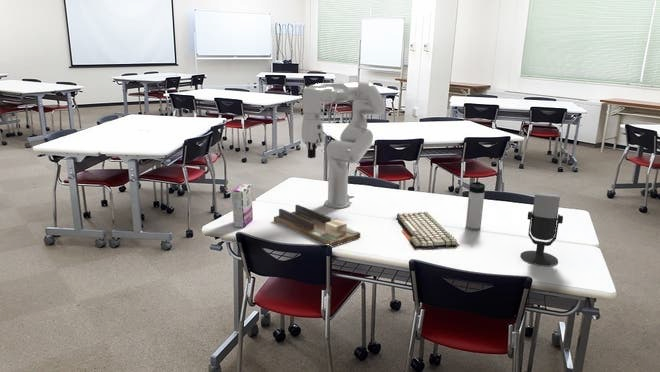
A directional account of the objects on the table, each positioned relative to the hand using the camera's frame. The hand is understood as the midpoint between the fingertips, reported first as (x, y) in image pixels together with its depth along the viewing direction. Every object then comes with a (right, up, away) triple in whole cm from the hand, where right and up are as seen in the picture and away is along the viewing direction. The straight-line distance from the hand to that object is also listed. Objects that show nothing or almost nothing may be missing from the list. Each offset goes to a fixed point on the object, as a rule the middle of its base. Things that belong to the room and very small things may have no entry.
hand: (311, 157), depth 219 cm
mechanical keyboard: (+48, -33, -10) cm, 58 cm away
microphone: (+86, -40, -35) cm, 101 cm away
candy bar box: (-30, -29, -5) cm, 42 cm away
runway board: (+2, -31, -10) cm, 32 cm away
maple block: (+11, -32, -20) cm, 39 cm away
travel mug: (+70, -31, -5) cm, 77 cm away
